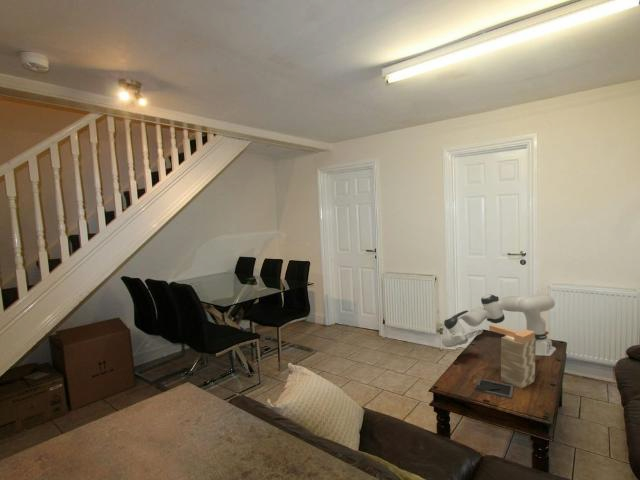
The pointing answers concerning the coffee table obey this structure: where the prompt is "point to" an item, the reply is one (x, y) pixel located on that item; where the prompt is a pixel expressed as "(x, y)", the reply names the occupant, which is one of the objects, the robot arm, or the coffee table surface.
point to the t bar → (514, 333)
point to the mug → (536, 366)
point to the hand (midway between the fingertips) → (477, 332)
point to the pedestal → (517, 362)
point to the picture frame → (495, 388)
